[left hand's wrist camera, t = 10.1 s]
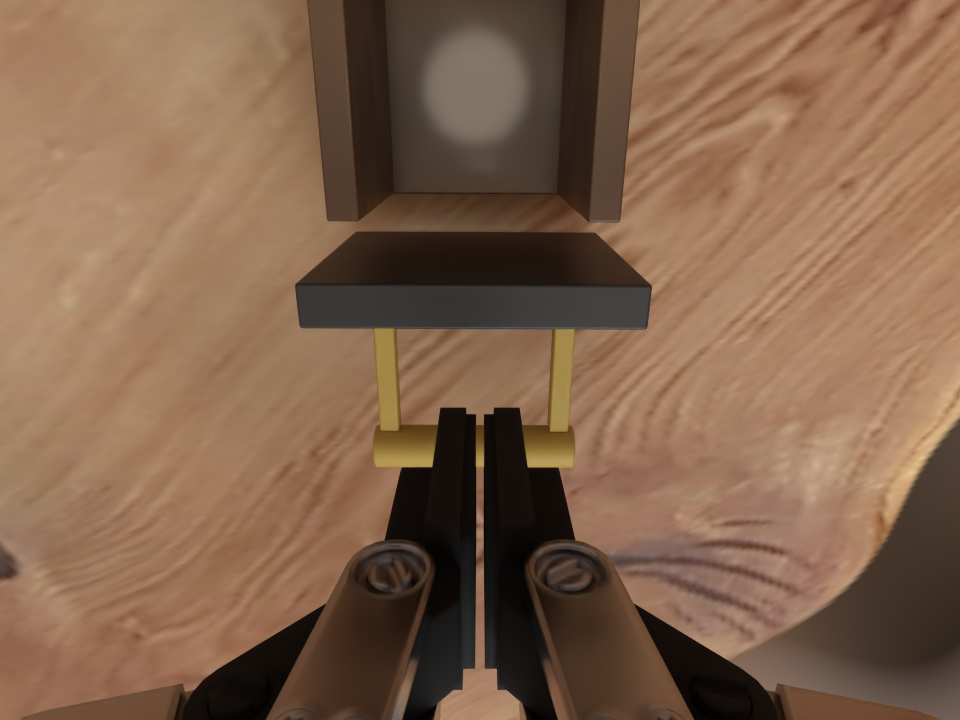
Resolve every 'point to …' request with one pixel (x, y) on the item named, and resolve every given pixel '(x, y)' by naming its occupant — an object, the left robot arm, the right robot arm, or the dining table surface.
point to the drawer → (473, 182)
